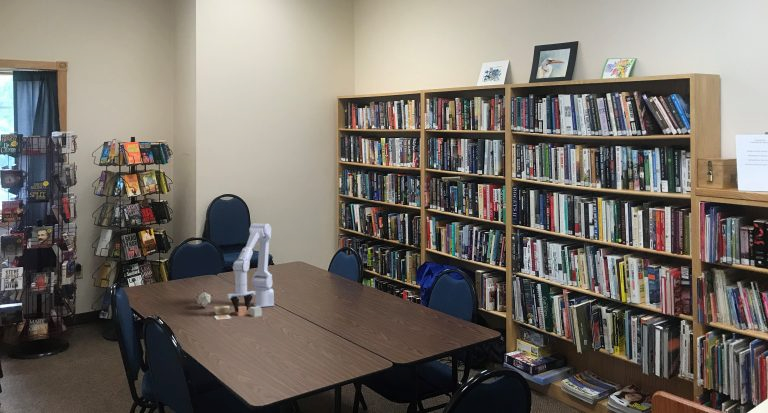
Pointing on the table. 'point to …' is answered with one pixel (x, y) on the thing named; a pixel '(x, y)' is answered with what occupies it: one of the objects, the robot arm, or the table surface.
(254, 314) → the grey block
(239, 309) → the terracotta block
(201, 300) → the game die
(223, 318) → the tile
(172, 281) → the table surface
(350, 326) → the table surface
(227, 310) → the maple block
